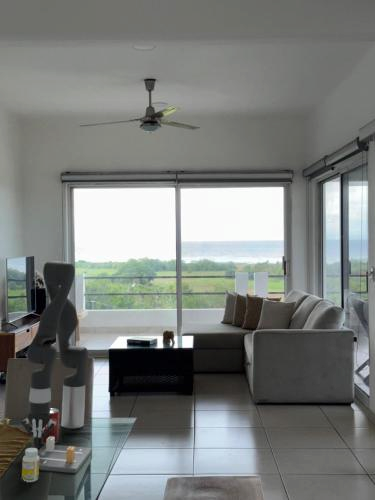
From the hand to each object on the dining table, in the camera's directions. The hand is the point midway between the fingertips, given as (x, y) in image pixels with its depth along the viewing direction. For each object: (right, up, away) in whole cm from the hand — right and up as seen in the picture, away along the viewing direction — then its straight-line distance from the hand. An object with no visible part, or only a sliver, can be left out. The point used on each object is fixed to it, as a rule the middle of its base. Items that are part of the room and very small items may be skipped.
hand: (37, 446), depth 215 cm
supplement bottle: (+3, -3, -22) cm, 23 cm away
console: (+9, -3, -5) cm, 11 cm away
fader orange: (+14, -2, -9) cm, 17 cm away
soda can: (+1, -3, +13) cm, 13 cm away
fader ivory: (+5, -1, 0) cm, 5 cm away
